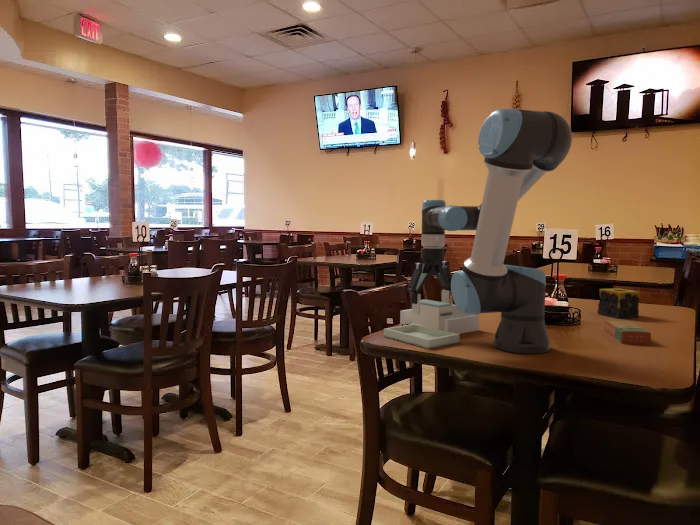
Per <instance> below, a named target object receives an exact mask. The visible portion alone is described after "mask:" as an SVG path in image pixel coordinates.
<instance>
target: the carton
mask: <svg viewBox="0 0 700 525" xmlns="http://www.w3.org/2000/svg"><path fill="white" fill-rule="evenodd" d="M603 323H604V324H603V332H604V334H606V335H608V336H609V337H610V338H612V339H613V340H615V341H616V342H618V343H619V344H621V345H643V346H644V345H645V346H646V345H649V346H650V345H651V341H652V333H651V332H650V331H649V330H647V329H645V328H643V327H641V326H639V325H636V324H635V323H634V322H631V321H618V320H615V321H614V320H604V322H603Z"/></svg>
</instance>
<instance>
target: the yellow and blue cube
mask: <svg viewBox="0 0 700 525" xmlns="http://www.w3.org/2000/svg"><path fill="white" fill-rule="evenodd" d="M598 291H599V302H598V304H597V307H598V310H597V314H598V315H601V316H605V317H609V318H614V319H619V320H620V319H634V318H639V312H640V310H639V305H640V304H639V303H640V300H641V299H640V296H641V292H640V291H636V290H633V289H632V290H631V289H626V288H625V289H624V288H621V287H620V288H619V287H617V288H599V290H598Z"/></svg>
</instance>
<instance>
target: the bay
mask: <svg viewBox="0 0 700 525" xmlns="http://www.w3.org/2000/svg"><path fill="white" fill-rule="evenodd" d="M451 304H452V313H453V314H452V315H451V319H446V320H445V331H448V332H452V333H457V334H460V335H461V334H466V333H467V334H468V333H471V332H478V331H480V313H479V314H474V313H469V314H468V313H463V312H462V311H460V310H459V309H458V307H457V306H456V304H453V303H451ZM405 323H406V324H412V308H409V309H403V310H400V316H399V326H402V325H401V324H405Z"/></svg>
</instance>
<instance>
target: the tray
mask: <svg viewBox="0 0 700 525" xmlns="http://www.w3.org/2000/svg"><path fill="white" fill-rule="evenodd" d="M460 335H461V334H457V333H452V332H448V331H444V330H439V329H435V328H430V327H426V326H422V325H417V324H409V325H403V326H402V325H398V326H392V327H386V328H383V338H388V339H391V340H394V339H395V341H398V340H399V342H401V341H402V343H406V344H409V345H412V344H413V345H412V346H417V347H420V348H424V349H426V350H430V349H434V348H440V347H444V346H449V345H455V344H458V343H460V340H461V339H460Z"/></svg>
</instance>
